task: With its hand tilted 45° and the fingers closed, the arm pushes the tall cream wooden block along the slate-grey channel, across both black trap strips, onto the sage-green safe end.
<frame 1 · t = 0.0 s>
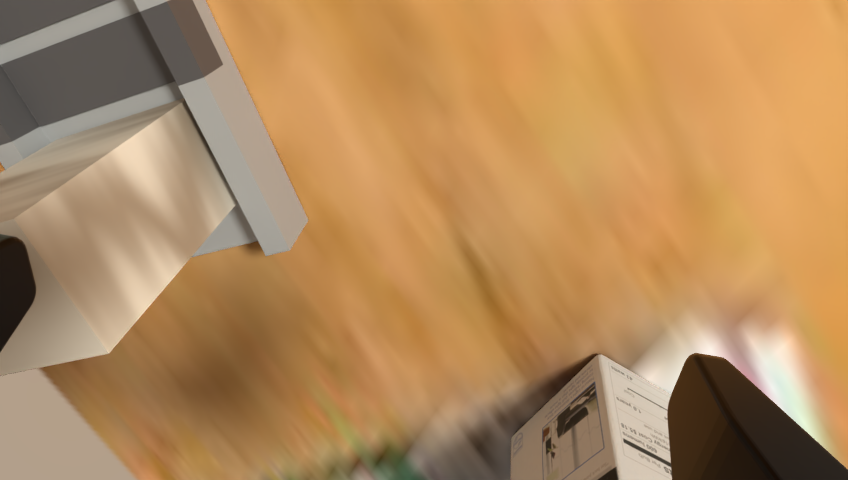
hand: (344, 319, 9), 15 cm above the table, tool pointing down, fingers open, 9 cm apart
cream block: (77, 226, 20), point 6 cm above the table, slide at 0.0 cm
light bulb box: (646, 443, 29), on the table
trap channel: (98, 40, 23), on the table
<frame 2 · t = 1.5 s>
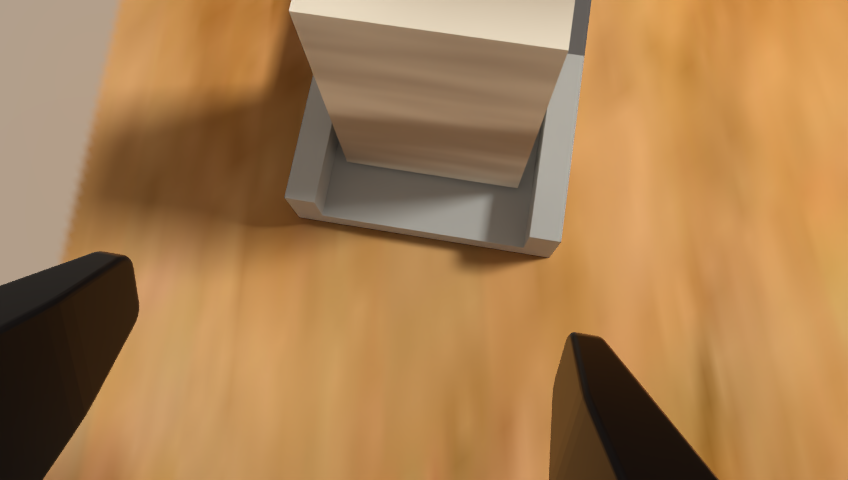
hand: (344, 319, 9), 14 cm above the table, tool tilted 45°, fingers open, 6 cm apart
cream block: (441, 56, 18), point 5 cm above the table, slide at 0.0 cm
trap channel: (460, 24, 25), on the table
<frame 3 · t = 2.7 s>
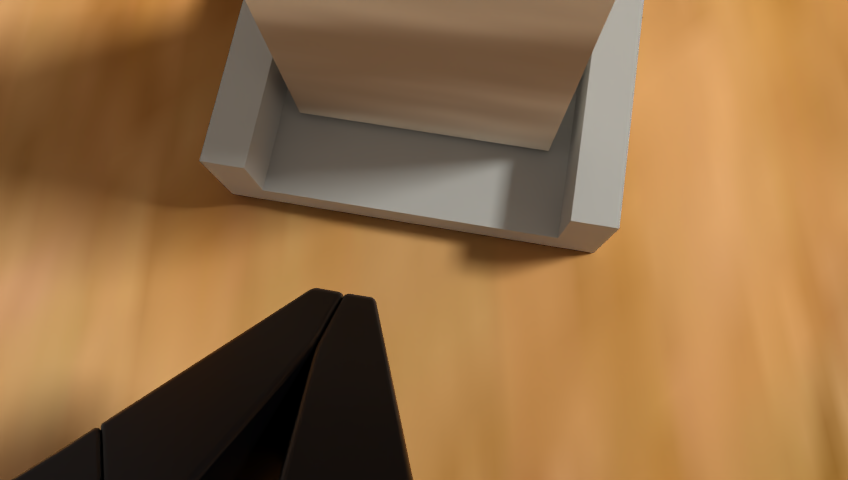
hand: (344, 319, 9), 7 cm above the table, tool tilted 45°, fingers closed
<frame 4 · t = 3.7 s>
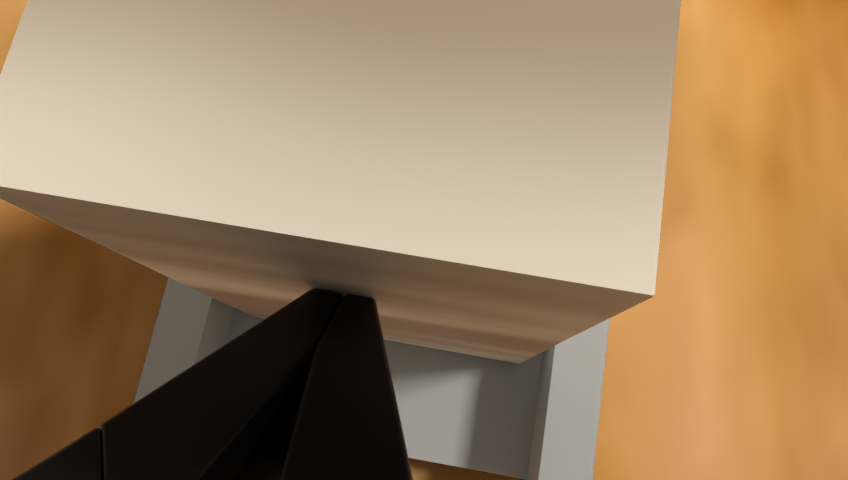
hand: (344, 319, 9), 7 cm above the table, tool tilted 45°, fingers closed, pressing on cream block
cream block: (384, 187, 10), point 5 cm above the table, slide at 0.4 cm, touching gripper
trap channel: (432, 103, 17), on the table
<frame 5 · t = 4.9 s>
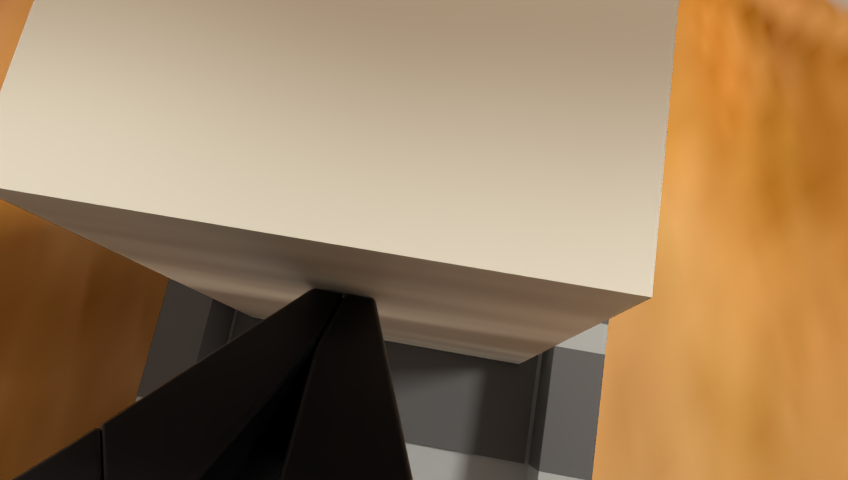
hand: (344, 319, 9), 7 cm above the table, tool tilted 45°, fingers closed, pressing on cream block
cream block: (384, 189, 10), point 5 cm above the table, slide at 6.6 cm, touching gripper
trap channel: (387, 345, 15), on the table
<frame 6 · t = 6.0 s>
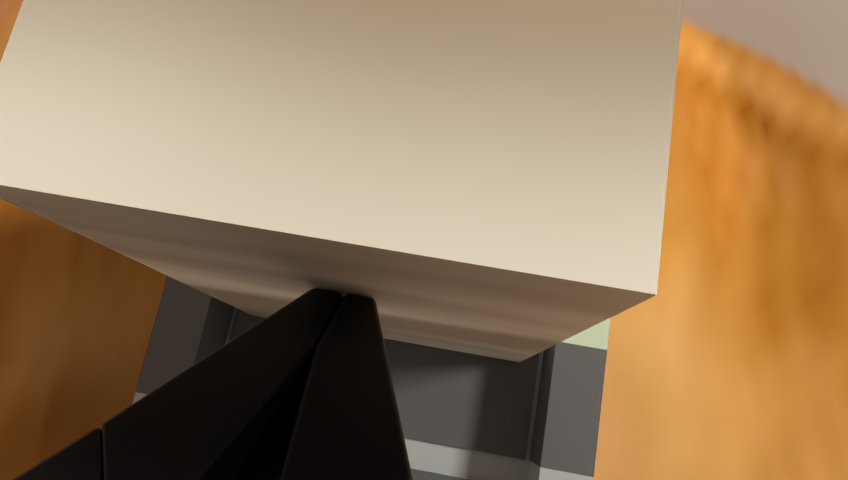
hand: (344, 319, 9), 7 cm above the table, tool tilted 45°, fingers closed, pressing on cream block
cream block: (384, 186, 10), point 5 cm above the table, slide at 9.6 cm, touching gripper
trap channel: (362, 474, 14), on the table
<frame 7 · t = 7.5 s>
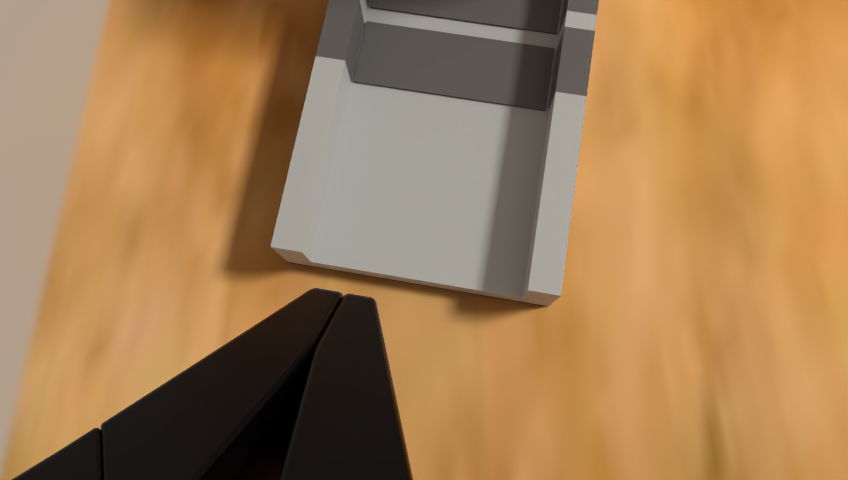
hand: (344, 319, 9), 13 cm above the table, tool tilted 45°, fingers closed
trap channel: (457, 57, 24), on the table
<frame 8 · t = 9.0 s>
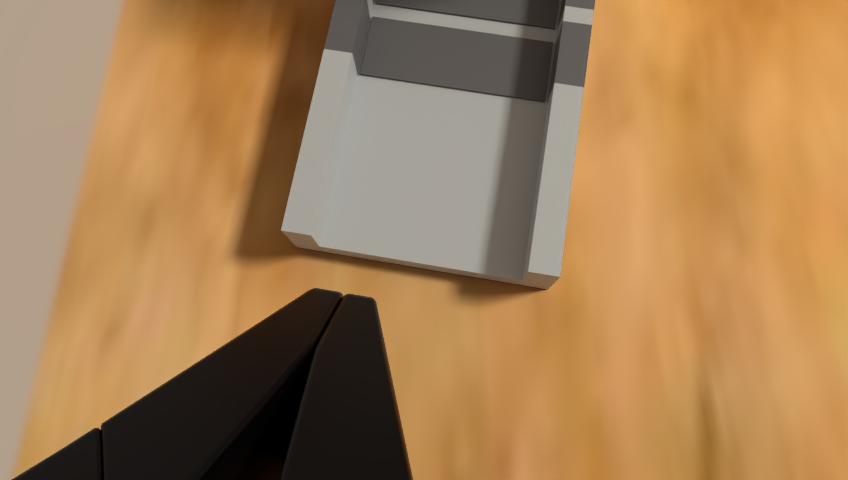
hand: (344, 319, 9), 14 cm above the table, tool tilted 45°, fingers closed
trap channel: (459, 51, 25), on the table
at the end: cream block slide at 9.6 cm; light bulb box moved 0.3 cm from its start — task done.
